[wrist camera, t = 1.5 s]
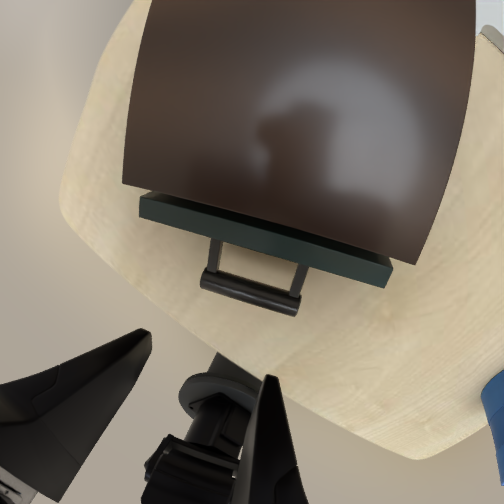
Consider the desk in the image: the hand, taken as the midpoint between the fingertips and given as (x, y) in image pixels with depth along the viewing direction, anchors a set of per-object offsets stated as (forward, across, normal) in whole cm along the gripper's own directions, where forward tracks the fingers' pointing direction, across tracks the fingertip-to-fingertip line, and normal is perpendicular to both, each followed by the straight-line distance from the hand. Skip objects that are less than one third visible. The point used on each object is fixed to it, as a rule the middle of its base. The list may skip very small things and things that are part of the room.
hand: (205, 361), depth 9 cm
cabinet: (+12, 0, -10) cm, 16 cm away
